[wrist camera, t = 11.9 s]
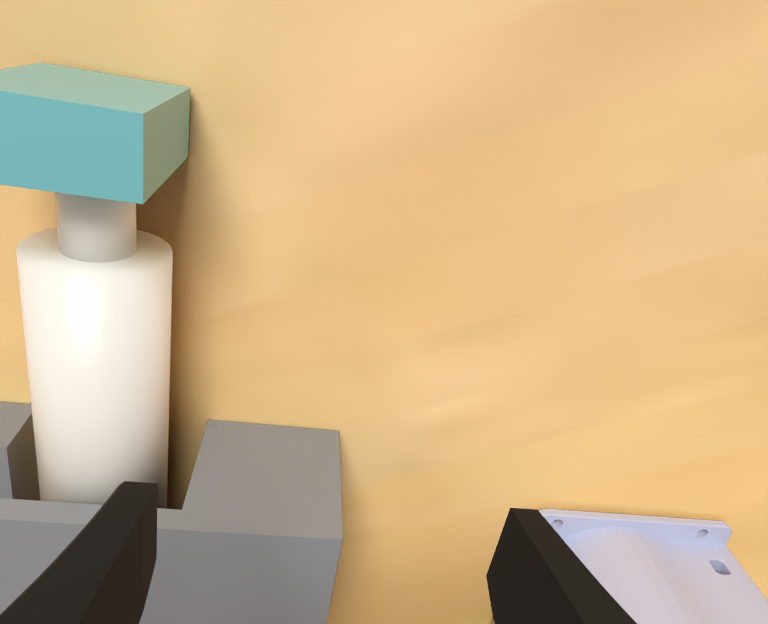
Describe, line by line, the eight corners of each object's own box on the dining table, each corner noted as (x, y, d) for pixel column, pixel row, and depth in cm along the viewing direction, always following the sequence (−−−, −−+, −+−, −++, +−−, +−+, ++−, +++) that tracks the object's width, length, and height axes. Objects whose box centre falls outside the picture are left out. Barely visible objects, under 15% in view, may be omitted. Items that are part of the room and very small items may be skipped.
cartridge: (190, 87, 17) (143, 113, 13) (176, 494, 24) (142, 605, 19) (41, 62, 17) (-63, 80, 12) (70, 487, 23) (9, 600, 19)
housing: (339, 430, 23) (342, 539, 18) (303, 632, 28) (299, 758, 24) (-7, 400, 21) (-104, 513, 17) (22, 623, 26) (-46, 758, 22)
